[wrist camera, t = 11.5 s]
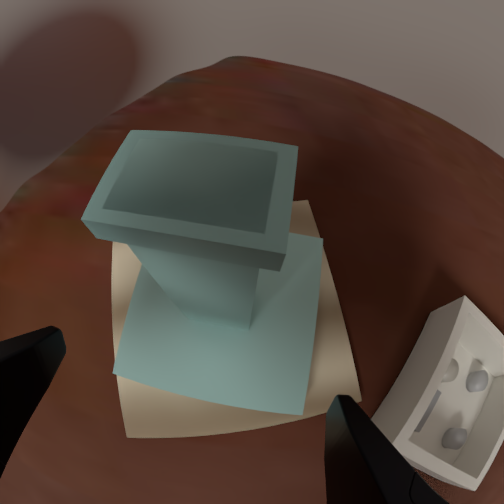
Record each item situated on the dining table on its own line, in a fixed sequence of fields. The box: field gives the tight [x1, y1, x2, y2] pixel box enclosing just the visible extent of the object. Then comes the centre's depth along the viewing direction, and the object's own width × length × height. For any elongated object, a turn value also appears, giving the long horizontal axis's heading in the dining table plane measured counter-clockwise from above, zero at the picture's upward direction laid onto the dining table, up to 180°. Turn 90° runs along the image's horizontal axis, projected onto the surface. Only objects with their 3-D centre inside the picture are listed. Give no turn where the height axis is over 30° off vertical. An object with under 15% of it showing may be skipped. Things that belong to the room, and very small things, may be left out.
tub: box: [371, 295, 504, 491], centre depth 12 cm, size 10×10×4 cm
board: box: [112, 200, 362, 438], centre depth 16 cm, size 14×14×1 cm
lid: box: [81, 130, 323, 415], centre depth 11 cm, size 10×10×12 cm
